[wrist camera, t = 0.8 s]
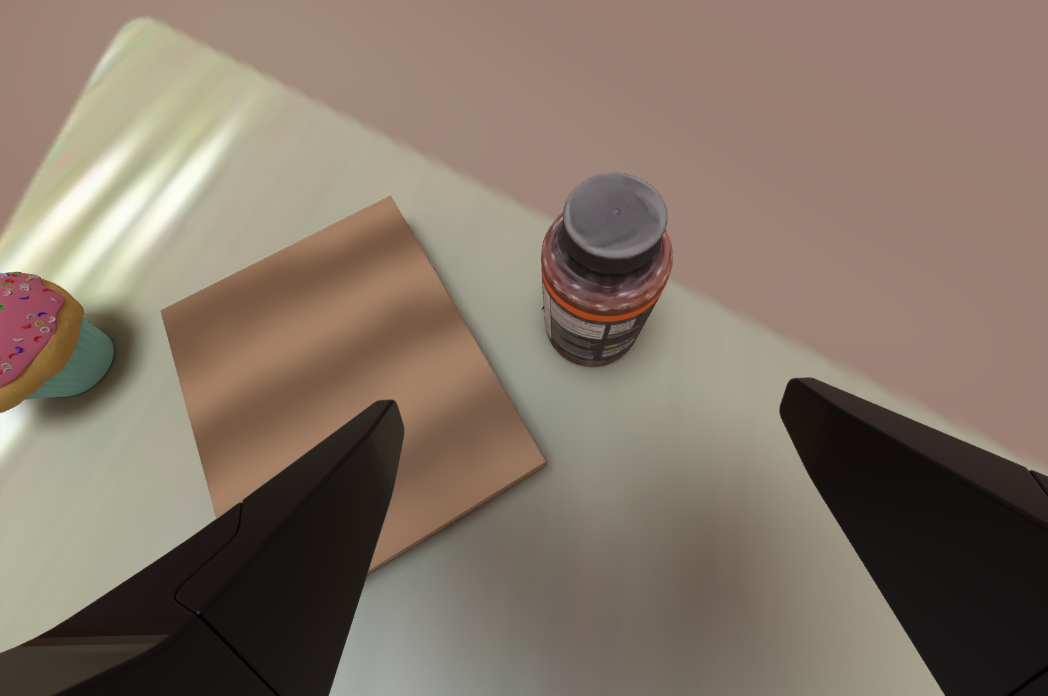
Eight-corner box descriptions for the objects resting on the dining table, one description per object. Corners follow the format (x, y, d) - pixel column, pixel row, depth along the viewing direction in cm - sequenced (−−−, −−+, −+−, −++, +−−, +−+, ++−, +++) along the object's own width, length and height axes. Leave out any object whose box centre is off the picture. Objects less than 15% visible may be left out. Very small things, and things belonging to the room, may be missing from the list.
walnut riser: (546, 464, 23) (545, 461, 20) (290, 622, 21) (250, 643, 18) (406, 223, 29) (390, 195, 26) (200, 328, 27) (160, 310, 25)
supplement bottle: (586, 268, 27) (608, 126, 16) (655, 322, 25) (730, 203, 15) (525, 327, 26) (507, 215, 15) (594, 388, 24) (628, 310, 14)
